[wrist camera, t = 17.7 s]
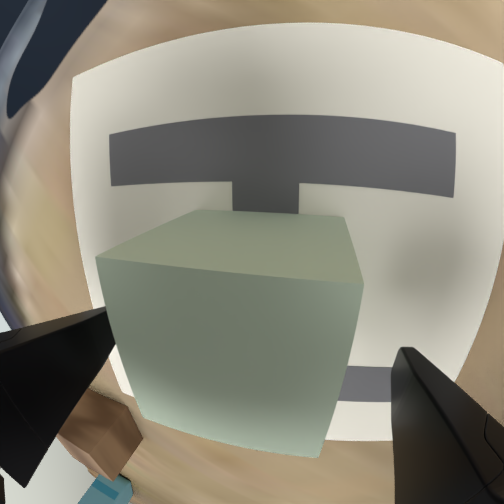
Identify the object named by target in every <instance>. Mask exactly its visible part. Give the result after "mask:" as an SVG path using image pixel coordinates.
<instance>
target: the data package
mask: <svg viewBox="0 0 504 504" xmlns="http://www.w3.org/2000/svg"><path fill="white" fill-rule="evenodd" d="M132 495H133V491H132V487H131V482H130V481H129V480H127V479H126V478H124V477H122V476H121V475H119V474H118V476H117V477H116V479H115V480H114V482H113V481H111V480H109V479H107V478H105V477H104V476H102V475H100V474H99V475H98V477H97V478H96V479H95V481H94V482H93V484H92V485H91V486H90V488H89V489H88V490H87V492H86V493H85V494H84V496H83V497H82V498H81V500H80V501H79V502H78V504H128V502H129V501H130V499H131V497H132Z"/></svg>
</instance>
